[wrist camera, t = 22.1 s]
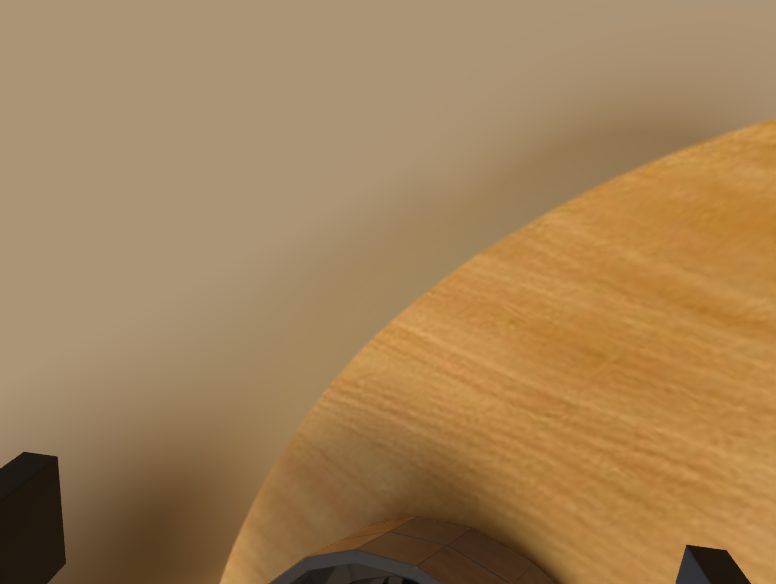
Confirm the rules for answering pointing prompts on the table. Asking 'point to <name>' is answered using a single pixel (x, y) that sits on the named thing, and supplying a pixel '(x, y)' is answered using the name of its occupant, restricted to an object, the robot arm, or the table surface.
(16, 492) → the robot arm
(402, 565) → the dark grey dish
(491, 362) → the table surface
